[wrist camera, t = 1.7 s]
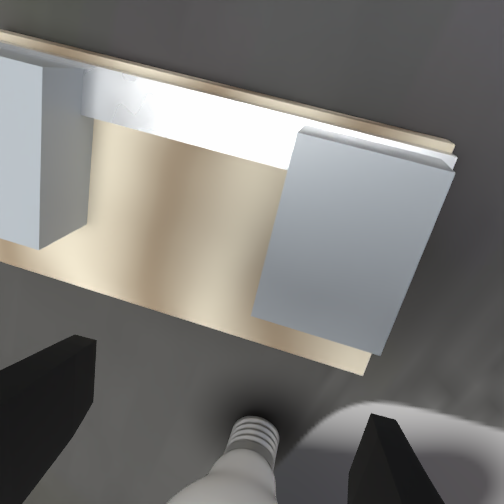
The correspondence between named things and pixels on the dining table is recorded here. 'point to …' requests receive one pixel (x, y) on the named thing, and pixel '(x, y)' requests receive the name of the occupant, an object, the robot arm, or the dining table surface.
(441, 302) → the dining table surface
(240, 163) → the rail board
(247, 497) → the lightbulb
